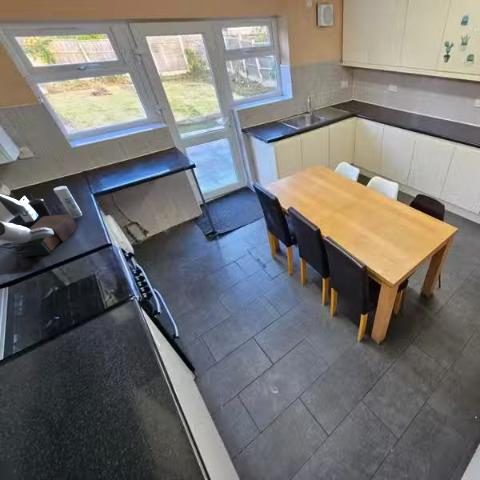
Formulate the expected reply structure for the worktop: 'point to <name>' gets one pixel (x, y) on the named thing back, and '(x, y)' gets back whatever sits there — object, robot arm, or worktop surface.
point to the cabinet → (58, 225)
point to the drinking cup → (39, 207)
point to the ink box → (28, 211)
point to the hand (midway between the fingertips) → (37, 239)
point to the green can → (36, 240)
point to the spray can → (68, 201)
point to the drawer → (37, 247)
